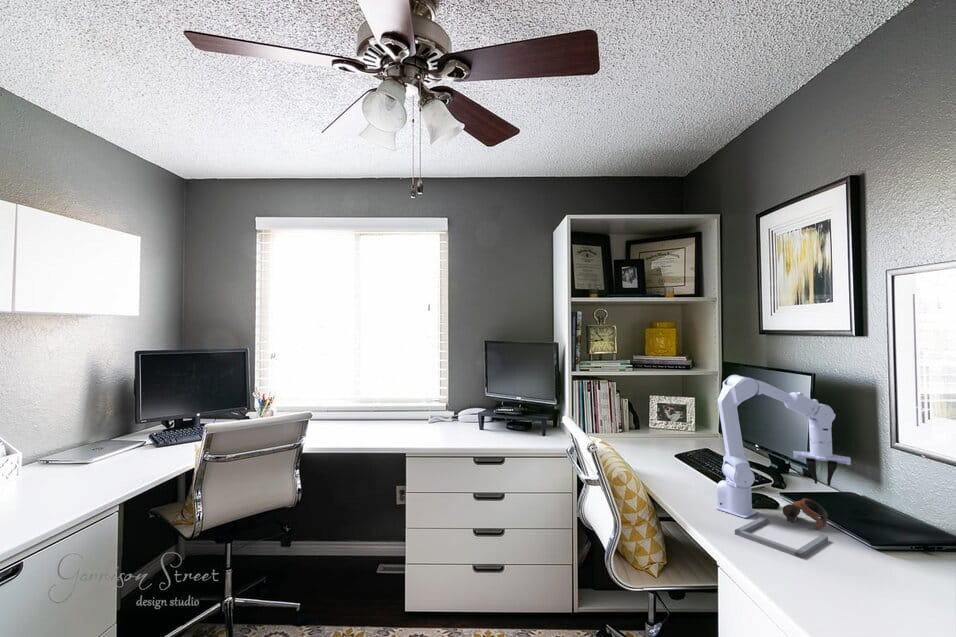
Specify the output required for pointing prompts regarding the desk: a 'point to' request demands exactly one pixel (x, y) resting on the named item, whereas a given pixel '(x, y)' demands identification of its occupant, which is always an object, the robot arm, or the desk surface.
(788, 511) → the orange curved piece
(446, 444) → the desk surface
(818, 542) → the frame
